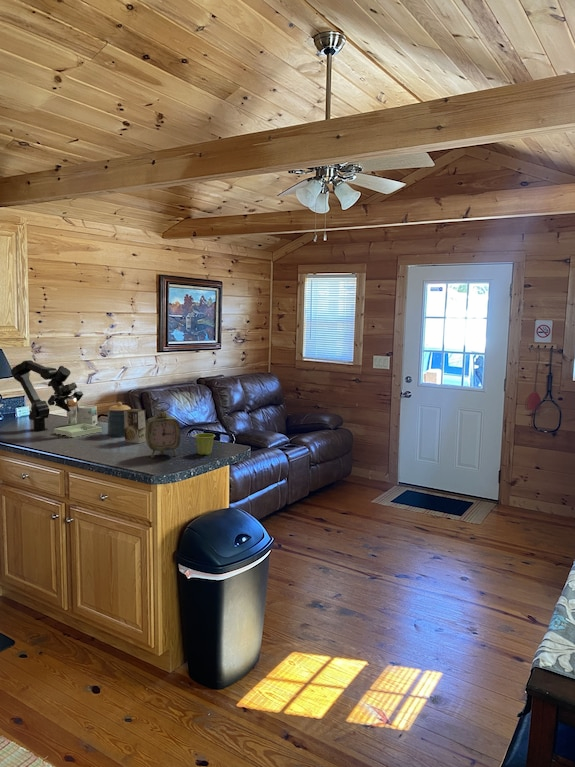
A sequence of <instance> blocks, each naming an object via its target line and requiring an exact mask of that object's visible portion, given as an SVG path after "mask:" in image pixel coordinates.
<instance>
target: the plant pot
mask: <svg viewBox="0 0 575 767" xmlns="http://www.w3.org/2000/svg"><path fill="white" fill-rule="evenodd" d="M215 437H216V435H215V434H214V433H205V432H202V433H197V434H194V438H195V441H196V446H197V447H196V448H197V454H199V455H200V456H202V455H206V456H208V455H211V454H212V450H213V444H214V440H215V439H214V438H215Z"/></svg>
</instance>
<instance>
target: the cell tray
mask: <svg viewBox="0 0 575 767" xmlns="http://www.w3.org/2000/svg"><path fill="white" fill-rule="evenodd" d="M81 428H82V429H81ZM83 428H87V430H83ZM102 430H103V428H102V426H97V425H89V424H78V425H75V424H71V425H68V426H60V427H56V428H54V434H55V433H56V434H55V435H58V434H61V435H60V436H62V435H66V436H70V437H75V438H77V437H76V436H80V437H82V436H81V435H85V434H90V433H96V432H101V433H102ZM96 434H97V433H96ZM90 435H91V434H90ZM66 436H65V437H66ZM85 436H86V435H85ZM70 437H69V438H70Z"/></svg>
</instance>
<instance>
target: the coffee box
mask: <svg viewBox="0 0 575 767" xmlns="http://www.w3.org/2000/svg"><path fill="white" fill-rule="evenodd" d="M146 411H147V410H146V409H137V408H131V409H129V410H125V411H124V425H125V436H124V442H126V443H133V444H142V443H145V442H147V441H146V434H145V431H146V422H147V417H146V416H147V413H146Z"/></svg>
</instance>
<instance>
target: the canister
mask: <svg viewBox="0 0 575 767" xmlns="http://www.w3.org/2000/svg"><path fill="white" fill-rule="evenodd" d="M129 409H132V408H131V407H130V406H129V405H127V404H123V403H122V402H121V401H118V402H117V403H116V405H115V404H114V405H111V406H110V407H109V408H108V412H106V414H107V420H106V421H107V435H108V437H109V436H110V437H112V436H113V438H118V437H119V438H121V437H123V438H125V425H124V411H125V410H129Z"/></svg>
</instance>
